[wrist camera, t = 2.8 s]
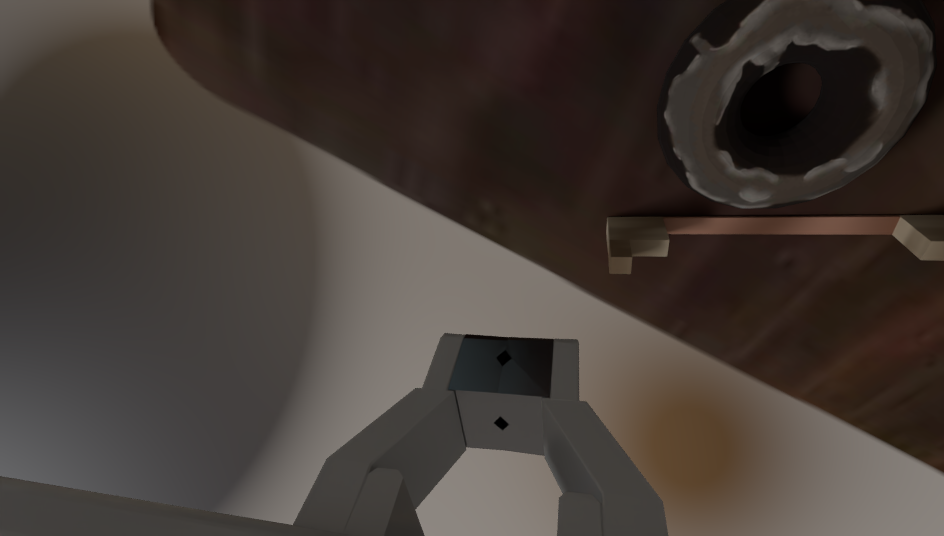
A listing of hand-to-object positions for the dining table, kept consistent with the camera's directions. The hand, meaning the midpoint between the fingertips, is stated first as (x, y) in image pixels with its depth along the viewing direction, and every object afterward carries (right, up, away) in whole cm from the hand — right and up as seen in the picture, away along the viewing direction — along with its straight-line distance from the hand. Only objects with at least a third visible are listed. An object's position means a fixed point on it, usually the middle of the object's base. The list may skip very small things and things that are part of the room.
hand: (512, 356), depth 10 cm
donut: (+15, +12, +14) cm, 24 cm away
